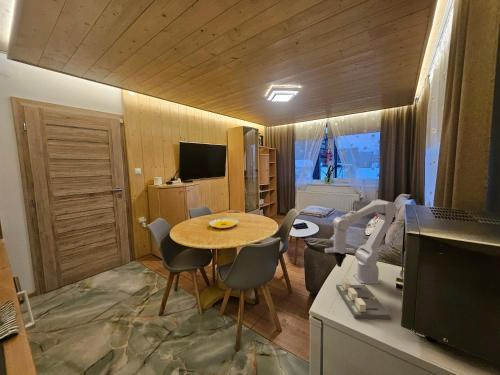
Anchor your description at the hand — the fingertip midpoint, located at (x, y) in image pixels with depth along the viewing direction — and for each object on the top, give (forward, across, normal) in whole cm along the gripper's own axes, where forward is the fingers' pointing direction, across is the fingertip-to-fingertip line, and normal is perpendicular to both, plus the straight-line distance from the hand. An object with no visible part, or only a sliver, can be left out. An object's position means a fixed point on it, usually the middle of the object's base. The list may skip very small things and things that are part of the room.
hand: (339, 265), depth 107 cm
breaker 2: (+7, 0, -22) cm, 23 cm away
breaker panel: (+9, +4, -15) cm, 18 cm away
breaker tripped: (+7, 0, -15) cm, 17 cm away
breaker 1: (+7, 0, -8) cm, 11 cm away
